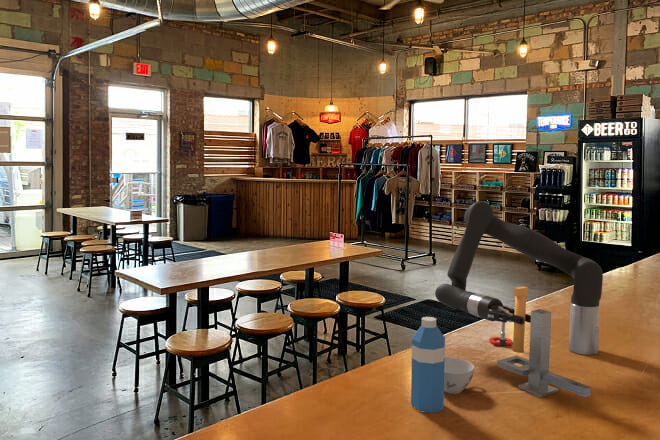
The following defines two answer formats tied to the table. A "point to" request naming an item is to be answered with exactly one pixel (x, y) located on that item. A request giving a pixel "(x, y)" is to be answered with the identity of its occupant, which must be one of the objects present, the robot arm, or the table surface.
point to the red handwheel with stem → (501, 338)
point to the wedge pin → (521, 311)
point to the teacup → (457, 374)
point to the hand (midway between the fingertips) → (527, 320)
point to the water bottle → (428, 367)
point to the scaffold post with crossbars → (541, 362)
